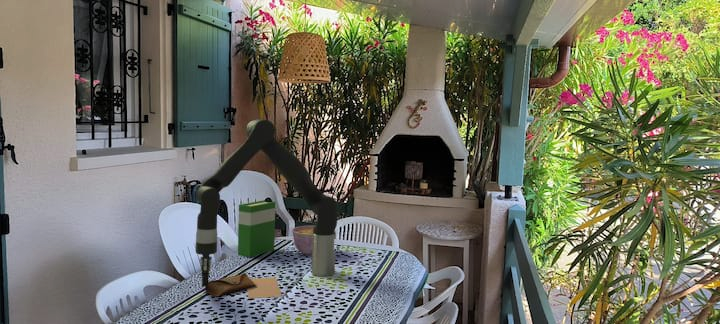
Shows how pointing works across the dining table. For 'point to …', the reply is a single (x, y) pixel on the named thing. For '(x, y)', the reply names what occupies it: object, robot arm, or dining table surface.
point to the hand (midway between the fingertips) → (205, 285)
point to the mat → (264, 288)
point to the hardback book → (256, 228)
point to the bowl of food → (303, 239)
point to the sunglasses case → (229, 285)
